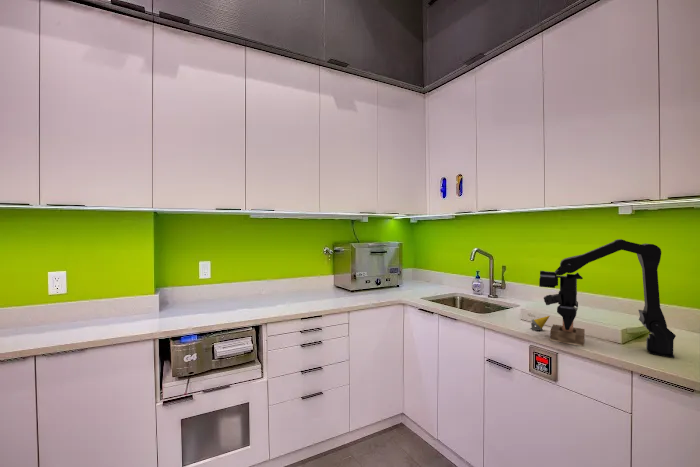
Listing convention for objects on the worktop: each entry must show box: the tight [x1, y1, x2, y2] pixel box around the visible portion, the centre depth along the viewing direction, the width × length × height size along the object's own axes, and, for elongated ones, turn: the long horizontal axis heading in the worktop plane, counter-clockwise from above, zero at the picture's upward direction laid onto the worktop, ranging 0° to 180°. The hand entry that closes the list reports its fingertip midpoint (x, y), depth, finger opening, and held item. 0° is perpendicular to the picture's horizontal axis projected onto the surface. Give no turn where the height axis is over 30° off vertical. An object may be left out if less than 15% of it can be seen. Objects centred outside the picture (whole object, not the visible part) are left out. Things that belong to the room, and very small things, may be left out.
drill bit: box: [530, 315, 551, 332], centre depth 145 cm, size 5×5×10 cm
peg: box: [562, 320, 574, 332], centre depth 133 cm, size 4×4×9 cm
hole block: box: [549, 324, 586, 347], centre depth 133 cm, size 11×11×4 cm
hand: (567, 327), depth 133 cm, fingers open, 8 cm apart
